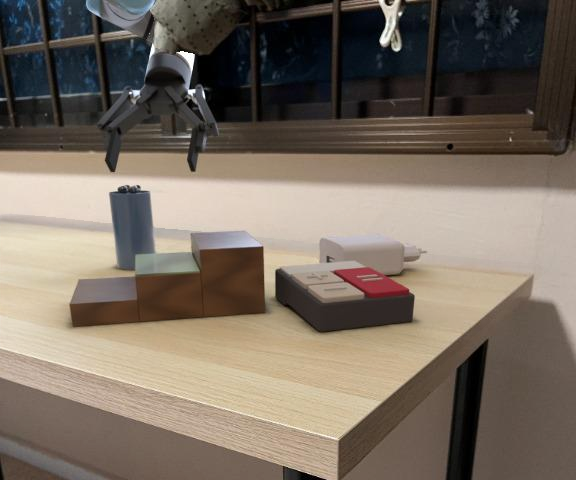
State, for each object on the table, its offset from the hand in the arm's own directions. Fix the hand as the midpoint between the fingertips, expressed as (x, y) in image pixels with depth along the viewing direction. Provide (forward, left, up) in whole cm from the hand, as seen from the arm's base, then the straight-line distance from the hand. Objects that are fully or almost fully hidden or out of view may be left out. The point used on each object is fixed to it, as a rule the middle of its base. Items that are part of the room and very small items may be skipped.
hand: (150, 166), depth 98 cm
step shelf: (+22, -26, -14) cm, 37 cm away
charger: (+38, +3, -14) cm, 41 cm away
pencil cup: (+3, -9, -14) cm, 17 cm away
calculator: (+41, -19, -14) cm, 48 cm away
